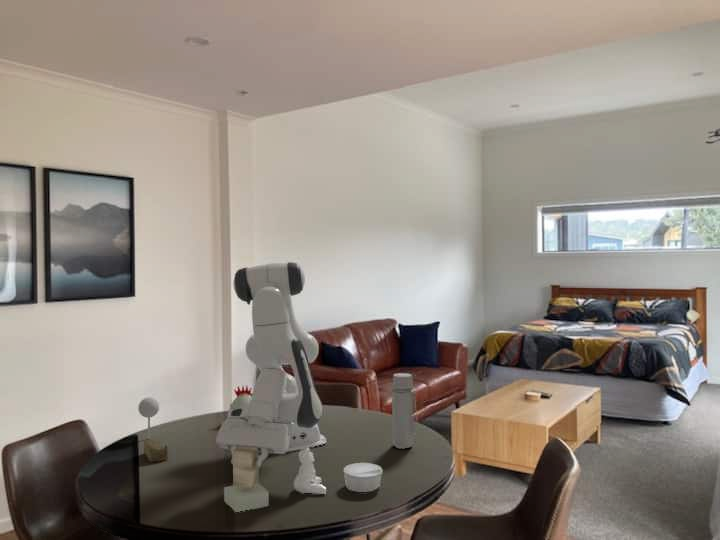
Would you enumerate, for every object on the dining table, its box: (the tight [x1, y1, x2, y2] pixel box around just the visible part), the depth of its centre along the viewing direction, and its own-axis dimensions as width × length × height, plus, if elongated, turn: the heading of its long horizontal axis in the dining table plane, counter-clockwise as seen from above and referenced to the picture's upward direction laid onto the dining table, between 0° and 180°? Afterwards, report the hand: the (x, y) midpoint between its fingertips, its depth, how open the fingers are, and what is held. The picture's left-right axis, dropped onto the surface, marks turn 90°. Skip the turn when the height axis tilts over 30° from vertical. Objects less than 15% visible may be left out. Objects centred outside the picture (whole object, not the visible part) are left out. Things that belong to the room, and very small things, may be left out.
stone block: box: [143, 438, 169, 463], centre depth 196 cm, size 6×12×5 cm, turn 30°
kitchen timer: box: [226, 385, 252, 420], centre depth 237 cm, size 14×14×15 cm
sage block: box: [223, 481, 270, 513], centre depth 159 cm, size 9×9×4 cm
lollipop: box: [138, 397, 160, 440], centre depth 215 cm, size 7×7×15 cm
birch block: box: [232, 446, 260, 487], centre depth 159 cm, size 5×5×9 cm
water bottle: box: [391, 372, 419, 446], centre depth 206 cm, size 9×8×25 cm
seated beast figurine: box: [293, 447, 327, 495], centre depth 168 cm, size 10×9×12 cm
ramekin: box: [343, 462, 383, 492], centre depth 170 cm, size 11×11×5 cm
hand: (245, 464), depth 158 cm, fingers closed on birch block, 5 cm apart
